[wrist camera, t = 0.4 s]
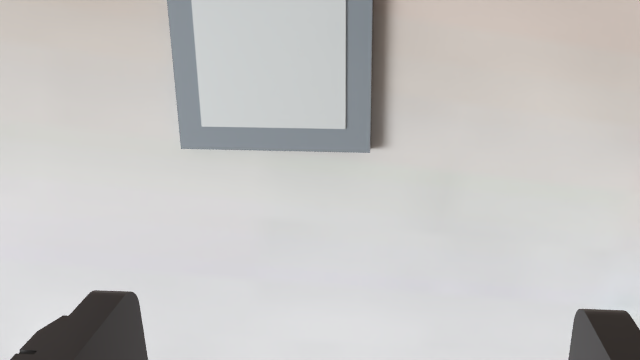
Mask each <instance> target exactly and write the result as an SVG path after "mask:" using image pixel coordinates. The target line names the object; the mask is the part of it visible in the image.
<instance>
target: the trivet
mask: <svg viewBox="0 0 640 360" xmlns="http://www.w3.org/2000/svg"><path fill="white" fill-rule="evenodd" d="M167 5H168V16H169V26H170V37H171V47H172V58H173V69H174V79H175V90H176V100H177V111H178V121H179V132H180V142H181V149H220V150H267V151H314V152H361V153H370V140H371V80H372V19H373V0H167Z"/></svg>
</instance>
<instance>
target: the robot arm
mask: <svg viewBox="0 0 640 360" xmlns="http://www.w3.org/2000/svg"><path fill="white" fill-rule="evenodd" d="M10 360H148V357H147V351H146V344H145V338H144V331H143V325H142V318H141V312H140V305H139V301H138V298H137V296H136V294H135V293H133V292H125V291H97V290H95V291H92V292H90V293H89V294H88V295H87V296H86V298H85V299H84V300H83V301H82V302H81V303H80V304H79V305H78V306H77V307H76V309H75V310H74V311H73V312H72V313H71V314H70V315H69V316H62V317H60V318H58V319H57V320H55V321H53V322H52V323H50V324H49V325H47V326H45V327H44V328H42V329H40V330H39V331H37V332H36V333H35V334H34V335H33V336H32V338H31V339H30V340H29V341H28V342H27V343H26V344H25V345H24V346H23V347H22V348H21V349H20V353H19V354H15V355H14V356H13V357H12V358H11V359H10ZM569 360H640V330H639V328H638V327H637V325H636V324H635V322H634V321H633V319H632V318H631V316H630V315H629V313H628V312H626V311H624V310H596V309H579V310H578V311H577V312H576V314H575V318H574V323H573V330H572V338H571V345H570V352H569Z"/></svg>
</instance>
